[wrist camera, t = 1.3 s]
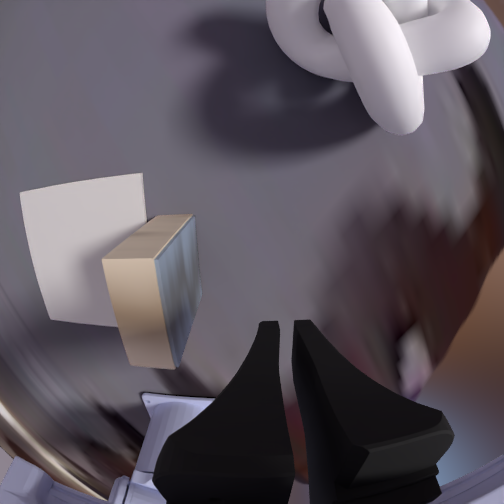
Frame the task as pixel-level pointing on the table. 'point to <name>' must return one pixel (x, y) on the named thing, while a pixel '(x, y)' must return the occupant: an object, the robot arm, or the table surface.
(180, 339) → the blue tan block
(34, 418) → the table surface
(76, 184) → the white mat
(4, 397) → the table surface
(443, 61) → the white torus knot
